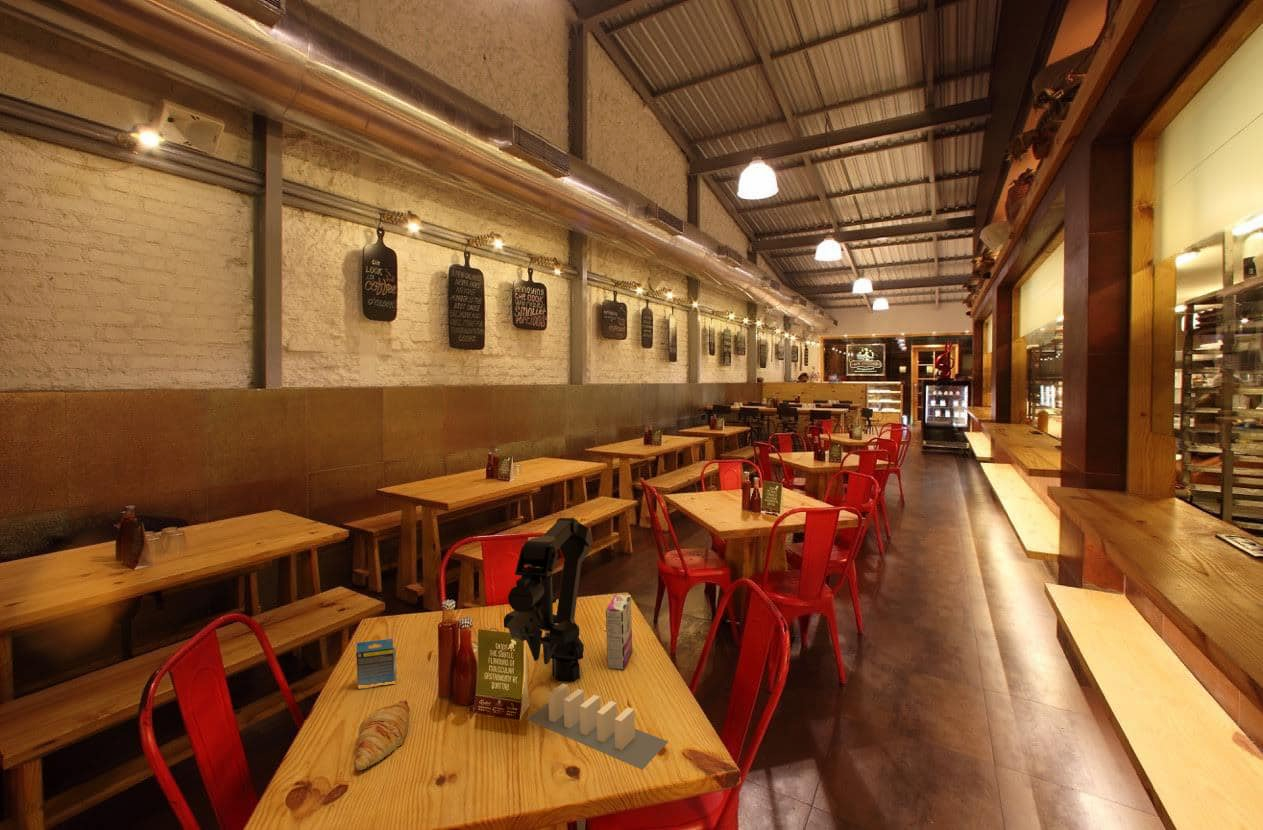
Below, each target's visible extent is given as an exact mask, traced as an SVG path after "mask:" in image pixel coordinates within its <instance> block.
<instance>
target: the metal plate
mask: <svg viewBox="0 0 1263 830" xmlns="http://www.w3.org/2000/svg"><path fill="white" fill-rule="evenodd" d="M525 720H526V721H529V722H531V723H534V724H536V725H538V726H541V727H542V728H543V727H544V728H546V729H548V730H549V731H552V732H554V733H557V734H559V735H562V736H564V737H566V738H568V739H571V740H573V741H576V742H577V743H580V744H582V745H585V746H587V747H588V748H592V749H594V750H596V751H598V752H601V753H603V754H605V755H608V756H610V757H611V758H615V759H617V760H619V761H621V762H624V763H626V764H629V765H630V766H633V767H635V768H637V769H640V770H644V769H645V768H646V767H647V766H648V764H649V763H650V762H651V761H652V760H653V759H655V757H656V756H657V754H659V752H661V750H662V749H664V747H665V746H666V745H667V744H668V743H669V741H668V740H665V739H663V738H660V737H658V736H655V735H652V734H650V733H649V732H648V733H647V732H645V731H642V730H640V729H636V728H635V738H634V739H633V740H632V741H631V742H630V743H629V744H627V745H626V746H625V747H624V748H623V749H622V750H620V749H617V748H615V733H614V734H613V735H611V736H610V737H609V738H608V739H607V740H606V741H605V742H604V743H603V742H600V741H598V740H597V727H596V728H595V729H594V730H592V731H591V732H590V733H589V734H588V735H587V736H586V735H584V734H581V733H580V721H579V722H578V723H577V724H575V725H574V726H573V727H572V728H570V729H569V728H567V727H565V726H564V715H563V716H562V717H560V718H559V719H558V720H557V721H555V722H553V721H550V720H549V702H547V703H546V704H544V705H543V706H541V708H539V709H537V710H536V711H534V712H533V713H532V714H530V715H529V716H528V717H527V718H525Z"/></svg>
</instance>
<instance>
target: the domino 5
mask: <svg viewBox="0 0 1263 830" xmlns="http://www.w3.org/2000/svg"><path fill="white" fill-rule="evenodd" d="M635 713H636V712H635V708H632V707H629V706H627V708H625V709H624V710H623V711H622V712H621V713H620V714H619V715H617V717H616V718H615V748H617V749H620V750H622V749H623V748H624V747H625V746H626V745H627V744H629V743H630V742H631V741H632V740H633V739H634V738H635V729H636V724H635V723H636V721H635V720H636V719H635V717H636V716H635Z"/></svg>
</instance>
